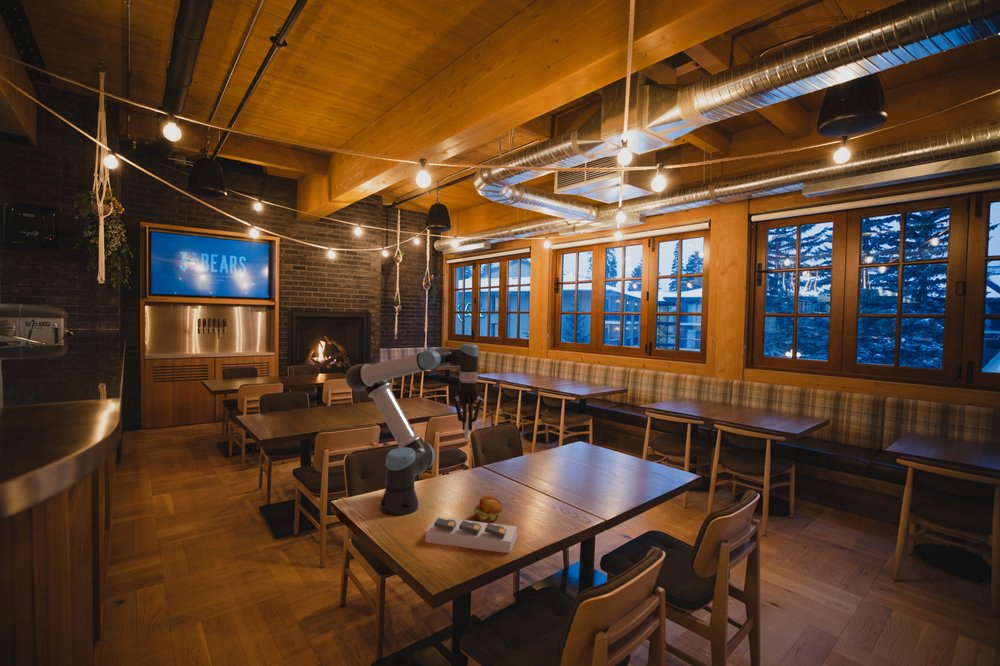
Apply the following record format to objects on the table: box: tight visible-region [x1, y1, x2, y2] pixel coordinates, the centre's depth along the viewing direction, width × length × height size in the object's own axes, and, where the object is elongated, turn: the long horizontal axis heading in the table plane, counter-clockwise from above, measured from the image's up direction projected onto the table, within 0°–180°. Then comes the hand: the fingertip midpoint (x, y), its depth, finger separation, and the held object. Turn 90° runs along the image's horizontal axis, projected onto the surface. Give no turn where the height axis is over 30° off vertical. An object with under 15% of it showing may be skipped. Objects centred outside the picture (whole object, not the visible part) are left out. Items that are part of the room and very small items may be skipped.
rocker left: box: [434, 518, 456, 531], centre depth 165 cm, size 7×4×2 cm, turn 78°
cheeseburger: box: [473, 493, 503, 523], centre depth 185 cm, size 10×11×10 cm
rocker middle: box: [459, 520, 481, 535], centre depth 163 cm, size 7×4×2 cm, turn 78°
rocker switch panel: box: [425, 516, 518, 554], centre depth 166 cm, size 30×12×4 cm, turn 78°
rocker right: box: [484, 522, 506, 538], centre depth 161 cm, size 7×4×2 cm, turn 78°
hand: (467, 438), depth 196 cm, fingers closed
